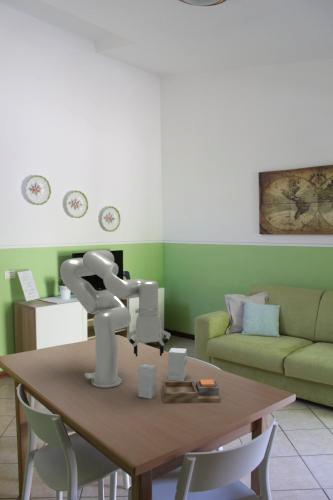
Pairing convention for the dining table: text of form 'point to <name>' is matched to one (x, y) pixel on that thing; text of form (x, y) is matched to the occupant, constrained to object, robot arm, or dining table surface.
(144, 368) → the skincare box
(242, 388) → the dining table surface
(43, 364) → the dining table surface
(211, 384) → the button
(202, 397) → the tray
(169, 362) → the supplement box
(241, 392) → the dining table surface
